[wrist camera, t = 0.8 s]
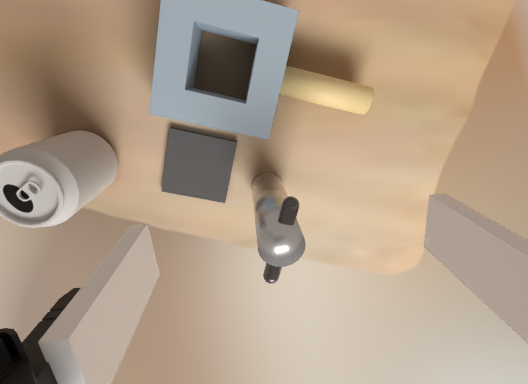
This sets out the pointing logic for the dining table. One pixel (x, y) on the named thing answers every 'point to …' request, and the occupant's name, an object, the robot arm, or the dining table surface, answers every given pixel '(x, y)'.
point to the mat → (198, 165)
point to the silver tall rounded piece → (276, 225)
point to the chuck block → (262, 73)
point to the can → (54, 177)
